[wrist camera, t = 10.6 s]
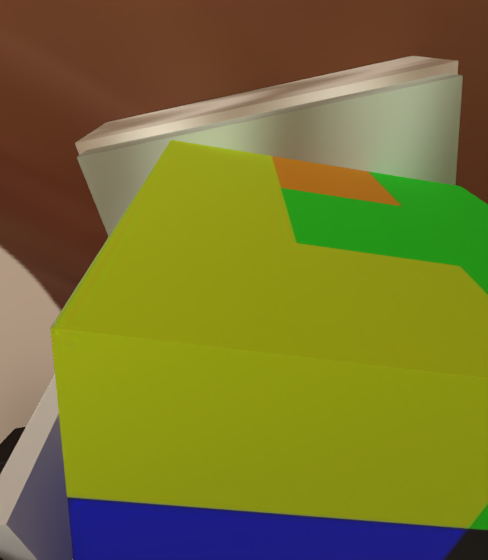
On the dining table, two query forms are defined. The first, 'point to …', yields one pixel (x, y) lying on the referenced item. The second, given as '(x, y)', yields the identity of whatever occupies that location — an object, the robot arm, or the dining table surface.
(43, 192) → the dining table surface
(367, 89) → the plinth
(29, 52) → the dining table surface
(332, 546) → the puzzle toy
